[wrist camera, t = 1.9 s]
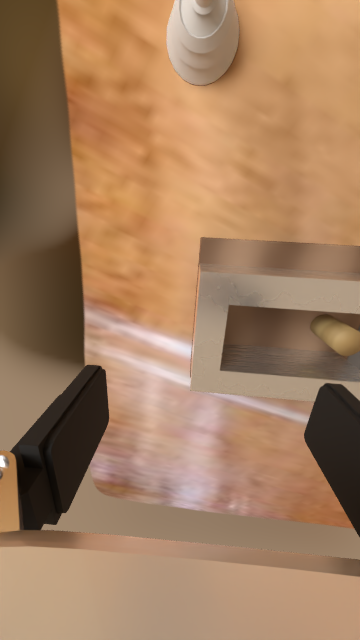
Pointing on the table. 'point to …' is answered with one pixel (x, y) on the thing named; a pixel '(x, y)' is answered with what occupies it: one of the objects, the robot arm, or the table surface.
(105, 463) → the table surface
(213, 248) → the stand
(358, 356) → the mat
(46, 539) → the robot arm
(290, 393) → the c link
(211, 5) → the chalice
